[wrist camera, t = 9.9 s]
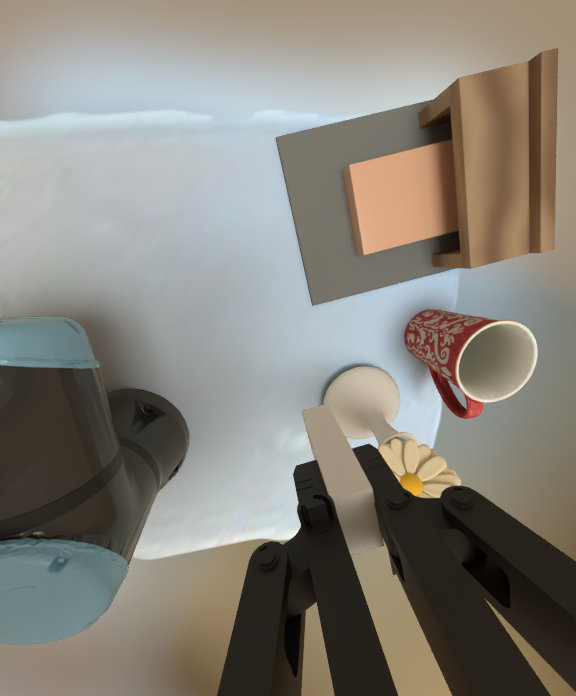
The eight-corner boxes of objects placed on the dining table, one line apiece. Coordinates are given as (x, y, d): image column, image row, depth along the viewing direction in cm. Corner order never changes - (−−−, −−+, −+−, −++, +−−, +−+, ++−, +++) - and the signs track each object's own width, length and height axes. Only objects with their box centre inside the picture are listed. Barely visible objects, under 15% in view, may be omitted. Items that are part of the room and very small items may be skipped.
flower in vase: (406, 374, 47) (568, 496, 23) (377, 439, 49) (495, 610, 25) (326, 349, 44) (413, 458, 20) (299, 419, 47) (349, 589, 23)
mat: (312, 305, 42) (313, 305, 42) (276, 138, 36) (276, 137, 36) (507, 254, 43) (509, 254, 43) (503, 84, 37) (505, 82, 37)
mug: (402, 301, 43) (465, 319, 30) (462, 302, 44) (548, 321, 32) (390, 385, 47) (443, 434, 34) (446, 385, 48) (518, 432, 35)
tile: (357, 255, 40) (364, 255, 38) (342, 171, 38) (349, 164, 35) (459, 228, 41) (472, 226, 39) (452, 143, 38) (466, 135, 36)
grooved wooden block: (432, 266, 42) (479, 269, 33) (418, 113, 37) (468, 69, 28) (493, 251, 42) (554, 249, 34) (486, 96, 37) (557, 48, 28)
